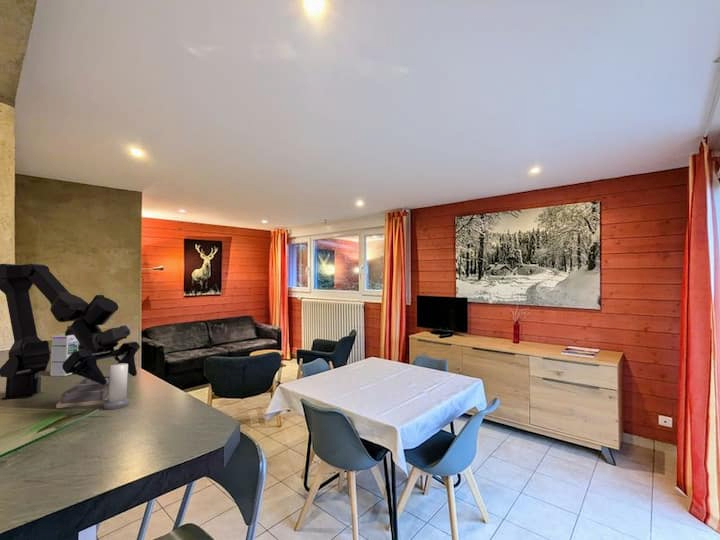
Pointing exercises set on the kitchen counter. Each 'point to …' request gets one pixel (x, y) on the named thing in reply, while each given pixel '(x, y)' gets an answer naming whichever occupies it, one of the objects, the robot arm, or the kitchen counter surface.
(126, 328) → the robot arm
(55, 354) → the syrup box
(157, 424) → the kitchen counter surface
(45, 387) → the kitchen counter surface
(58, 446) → the kitchen counter surface
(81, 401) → the grey compartment tray
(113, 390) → the white bulb
